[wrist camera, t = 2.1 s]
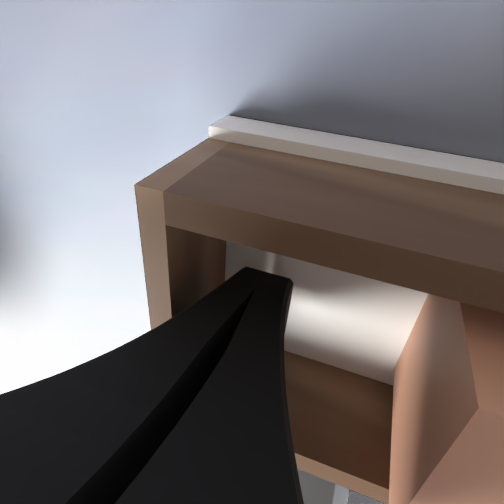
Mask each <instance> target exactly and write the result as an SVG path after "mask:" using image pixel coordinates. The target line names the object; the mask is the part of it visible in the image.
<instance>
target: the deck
mask: <svg viewBox="0 0 504 504" xmlns="http://www.w3.org/2000/svg"><path fill="white" fill-rule="evenodd" d="M209 138H211V139H217V140H222V141H227V142H232V143H237V144H243V145H248V146H253V147H258V148H264V149H269V150H274V151H279V152H284V153H290V154H295V155H300V156H305V157H310V158H316V159H321V160H326V161H331V162H336V163H342V164H347V165H352V166H357V167H363V168H368V169H373V170H378V171H383V172H389V173H394V174H399V175H404V176H409V177H415V178H420V179H425V180H430V181H436V182H441V183H446V184H451V185H456V186H462V187H467V188H472V189H477V190H482V191H488V192H493V193H498V194H503V195H504V163H500V162H494V161H488V160H482V159H477V158H471V157H465V156H459V155H454V154H448V153H442V152H436V151H430V150H425V149H419V148H413V147H407V146H402V145H396V144H390V143H384V142H379V141H373V140H367V139H361V138H356V137H350V136H344V135H338V134H332V133H327V132H321V131H315V130H309V129H304V128H298V127H292V126H286V125H281V124H275V123H269V122H263V121H258V120H252V119H246V118H240V117H234V116H229V115H227V116H225V117H224V118H222V119H220V120H218V121H217V122H215V123H213V124H211V125H209ZM246 266H247V267H250V268H254V269H258V270H261V271H265V272H268V273H272V274H276V275H279V276H283V277H287V278H290V279H291V280H292V282H293V283H294V285H293V291H292V296H291V302H290V307H289V313H288V319H287V324H286V330H285V334H284V350H285V351H288V352H291V353H294V354H297V355H300V356H303V357H307V358H310V359H313V360H316V361H319V362H322V363H325V364H328V365H331V366H334V367H337V368H340V369H343V370H347V371H350V372H353V373H356V374H359V375H362V376H365V377H368V378H371V379H374V380H377V381H380V382H383V383H387V384H390V385H393V386H394V368H395V366H396V363H397V361H398V359H399V357H400V355H401V352H402V350H403V348H404V346H405V344H406V342H407V339H408V337H409V335H410V333H411V331H412V328H413V326H414V324H415V322H416V320H417V317H418V315H419V313H420V311H421V309H422V306H423V304H424V302H425V300H426V298H427V295H428V293H424V292H420V291H416V290H413V289H409V288H405V287H401V286H397V285H393V284H390V283H386V282H382V281H378V280H374V279H370V278H367V277H363V276H359V275H355V274H351V273H348V272H344V271H340V270H336V269H332V268H328V267H325V266H321V265H317V264H313V263H309V262H305V261H302V260H298V259H294V258H290V257H286V256H283V255H279V254H275V253H271V252H267V251H263V250H260V249H256V248H252V247H248V246H244V245H240V244H237V243H233V242H229V241H226V264H225V281H226V280H228V279H229V278H230V277H232V276H233V275H234V274H235V273H237V272H238V271H239V270H241V269H242V268H244V267H246Z"/></svg>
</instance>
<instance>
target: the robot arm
mask: <svg viewBox="0 0 504 504" xmlns="http://www.w3.org/2000/svg"><path fill="white" fill-rule="evenodd" d="M293 285H294V283H293V282H292V280H291V279H290V278H287V277H283V276H279V275H276V274H272V273H268V272H265V271H261V270H258V269H254V268H250V267H247V266H246V267H244V268H242V269H241V270H239V271H238V272H237V273H235V274H234V275H233V276H232V277H230V278H229V279H228V280H226V281H225V282H224V283H222V284H221V285H219V286H218V287H217V288H215V289H214V290H213V291H211V292H210V293H208V294H207V295H206V296H204V297H203V298H201V299H200V300H198V301H197V302H195V303H194V304H192V305H191V306H189V307H188V308H187V309H185V310H183V311H182V312H180V313H179V314H177V315H175V316H174V317H172V318H171V319H169V320H167V321H166V322H164V323H162V324H161V325H159V326H157V327H156V328H154V329H152V330H151V331H149V332H147V333H145V334H143V335H142V336H140V337H138V338H136V339H134V340H132V341H130V342H128V343H126V344H124V345H122V346H120V347H118V348H116V349H114V350H112V351H110V352H108V353H106V354H104V355H101V356H99V357H97V358H95V359H93V360H90V361H88V362H86V363H83V364H81V365H79V366H76V367H74V368H72V369H69V370H67V371H65V372H62V373H60V374H57V375H54V376H52V377H49V378H46V379H44V380H41V381H38V382H35V383H33V384H30V385H27V386H24V387H21V388H19V389H16V390H13V391H10V392H7V393H4V394H1V395H0V504H304V501H303V497H302V491H301V486H300V480H299V475H298V469H297V464H296V458H295V453H294V447H293V442H292V435H291V427H290V420H289V412H288V403H287V394H286V381H285V362H284V334H285V330H286V324H287V319H288V313H289V307H290V302H291V296H292V291H293Z"/></svg>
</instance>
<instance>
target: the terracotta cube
mask: <svg viewBox="0 0 504 504" xmlns="http://www.w3.org/2000/svg"><path fill="white" fill-rule="evenodd" d="M389 504H504V313H500V312H497V311H493V310H489V309H485V308H481V307H478V306H474V305H470V304H466V303H462V302H458V301H455V300H451V299H447V298H443V297H439V296H435V295H432V294H428V295H427V298H426V300H425V302H424V304H423V306H422V309H421V311H420V313H419V315H418V317H417V320H416V322H415V324H414V326H413V328H412V331H411V333H410V335H409V337H408V339H407V342H406V344H405V346H404V348H403V350H402V352H401V355H400V357H399V359H398V361H397V363H396V366H395V368H394V386H393V410H392V435H391V459H390V483H389Z"/></svg>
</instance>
